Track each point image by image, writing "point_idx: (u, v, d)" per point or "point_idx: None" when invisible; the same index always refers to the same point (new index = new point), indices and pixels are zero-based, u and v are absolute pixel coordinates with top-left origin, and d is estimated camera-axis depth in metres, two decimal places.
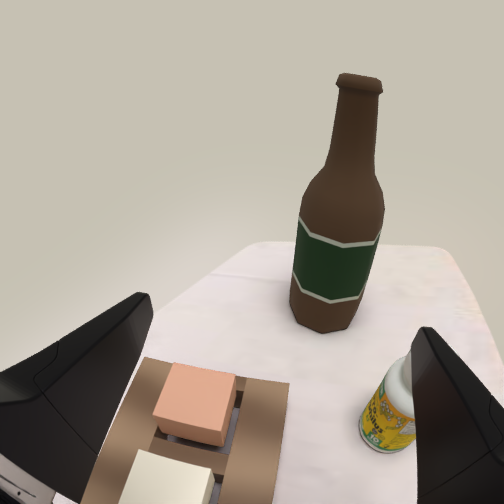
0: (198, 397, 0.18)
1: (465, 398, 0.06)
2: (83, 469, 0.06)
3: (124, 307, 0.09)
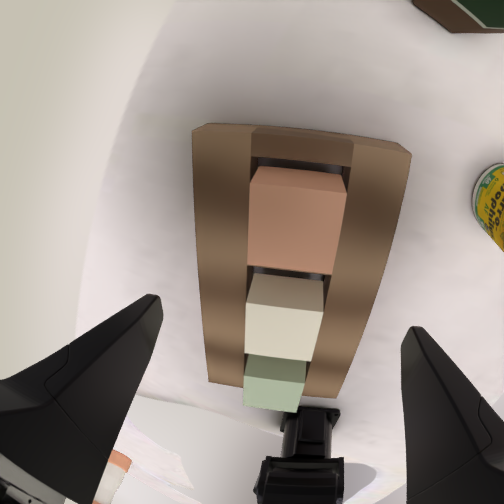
0: (298, 234, 0.15)
1: (453, 399, 0.06)
2: (94, 474, 0.06)
3: (135, 309, 0.09)
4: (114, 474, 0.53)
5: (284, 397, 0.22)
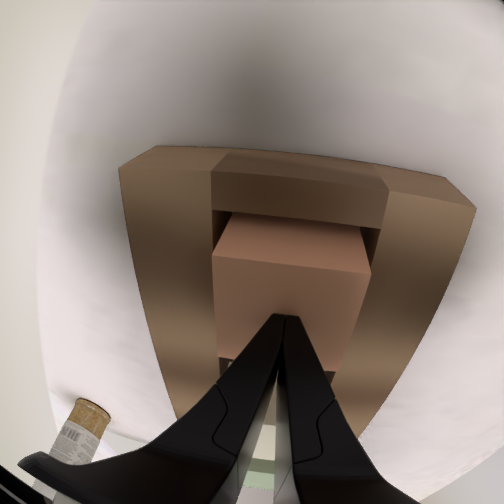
0: None
1: (292, 396, 0.06)
2: None
3: (272, 333, 0.08)
4: None
5: (272, 482, 0.16)
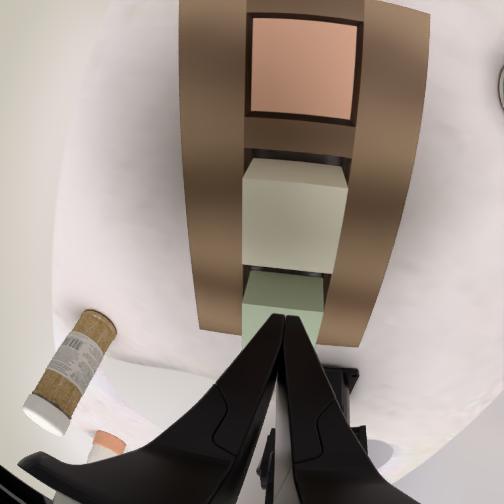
0: (309, 70, 0.12)
1: (292, 396, 0.06)
2: None
3: (271, 333, 0.08)
4: None
5: None
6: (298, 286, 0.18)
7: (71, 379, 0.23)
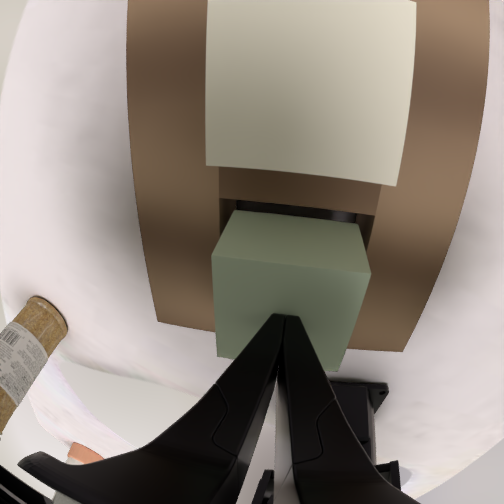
0: None
1: (292, 396, 0.06)
2: None
3: (272, 333, 0.08)
4: None
5: (315, 324, 0.09)
6: (318, 233, 0.10)
7: (0, 382, 0.14)
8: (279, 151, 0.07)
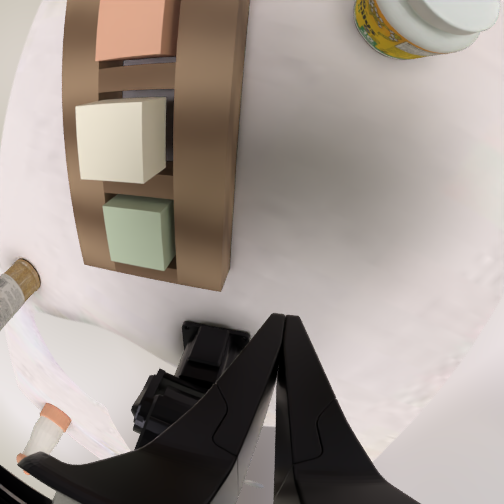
0: (131, 23, 0.13)
1: (292, 396, 0.06)
2: None
3: (271, 333, 0.08)
4: (50, 430, 0.49)
5: (145, 239, 0.20)
6: (152, 198, 0.21)
7: None
8: (101, 173, 0.16)
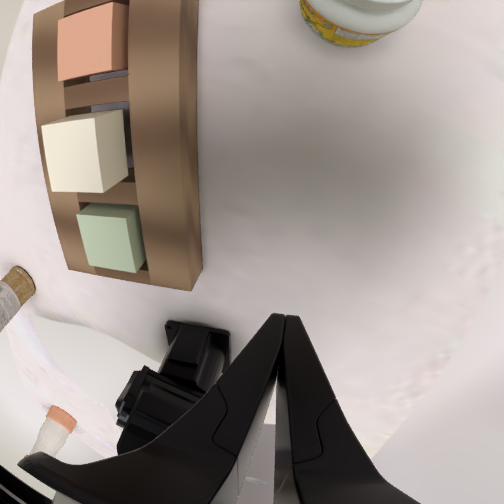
0: (85, 43, 0.13)
1: (292, 396, 0.06)
2: None
3: (272, 333, 0.08)
4: (55, 432, 0.51)
5: (115, 244, 0.21)
6: (121, 205, 0.21)
7: None
8: (68, 185, 0.16)
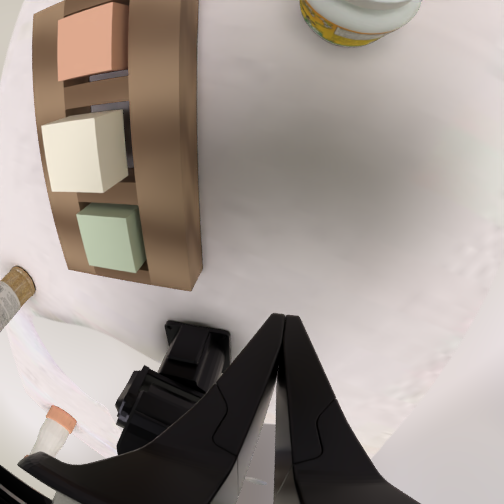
0: (85, 43, 0.13)
1: (292, 396, 0.06)
2: None
3: (272, 333, 0.08)
4: (55, 432, 0.51)
5: (115, 244, 0.21)
6: (121, 205, 0.21)
7: None
8: (68, 185, 0.16)
